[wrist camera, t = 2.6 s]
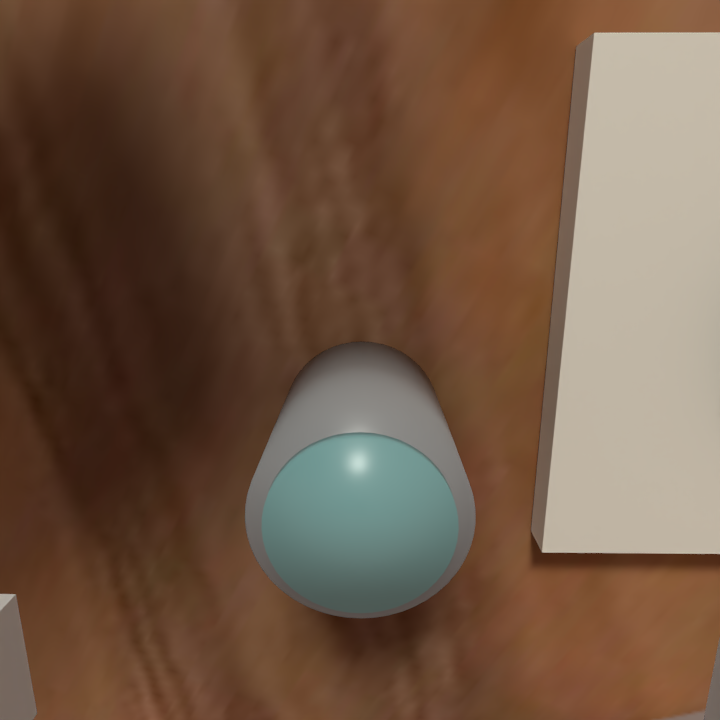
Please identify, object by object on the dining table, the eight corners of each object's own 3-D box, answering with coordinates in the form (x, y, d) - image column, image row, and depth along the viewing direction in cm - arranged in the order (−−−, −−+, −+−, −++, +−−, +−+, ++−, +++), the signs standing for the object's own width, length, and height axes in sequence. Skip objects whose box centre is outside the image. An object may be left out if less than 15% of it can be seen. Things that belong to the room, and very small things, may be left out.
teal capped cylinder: (288, 484, 23) (247, 628, 15) (283, 341, 21) (234, 418, 13) (435, 485, 23) (472, 630, 15) (441, 341, 21) (485, 419, 13)
